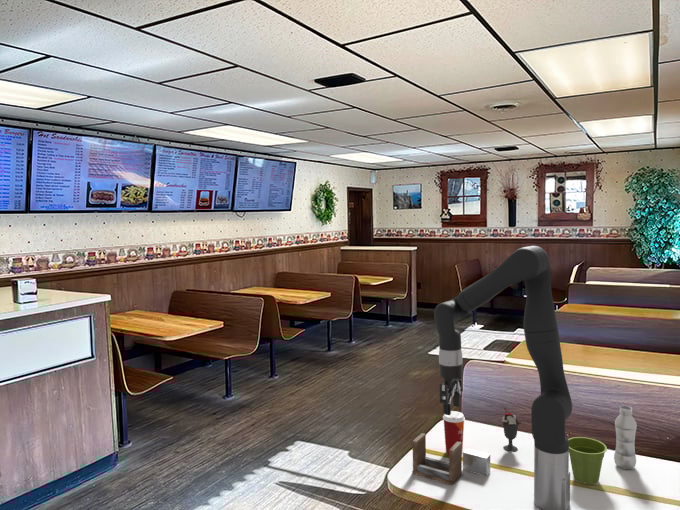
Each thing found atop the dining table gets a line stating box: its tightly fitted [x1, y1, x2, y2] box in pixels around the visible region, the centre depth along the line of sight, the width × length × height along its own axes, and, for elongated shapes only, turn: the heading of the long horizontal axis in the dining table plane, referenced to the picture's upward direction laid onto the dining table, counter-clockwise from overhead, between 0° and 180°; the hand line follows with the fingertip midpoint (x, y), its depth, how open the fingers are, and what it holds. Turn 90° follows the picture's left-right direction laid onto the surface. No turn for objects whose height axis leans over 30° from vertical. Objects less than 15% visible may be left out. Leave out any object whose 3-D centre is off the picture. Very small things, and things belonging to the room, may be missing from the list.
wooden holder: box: [411, 432, 463, 486], centre depth 169 cm, size 14×8×11 cm, turn 56°
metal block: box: [462, 447, 491, 477], centre depth 171 cm, size 8×4×6 cm, turn 56°
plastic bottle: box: [613, 405, 638, 470], centre depth 170 cm, size 6×7×20 cm
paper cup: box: [442, 410, 466, 456], centre depth 184 cm, size 8×8×14 cm
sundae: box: [500, 407, 521, 453], centre depth 185 cm, size 7×7×15 cm
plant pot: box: [567, 436, 608, 486], centre depth 164 cm, size 12×12×11 cm
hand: (452, 410), depth 171 cm, fingers open, 8 cm apart
